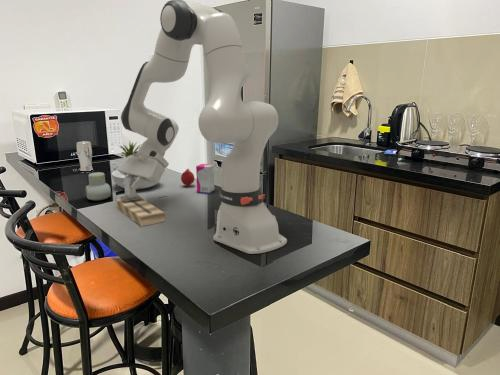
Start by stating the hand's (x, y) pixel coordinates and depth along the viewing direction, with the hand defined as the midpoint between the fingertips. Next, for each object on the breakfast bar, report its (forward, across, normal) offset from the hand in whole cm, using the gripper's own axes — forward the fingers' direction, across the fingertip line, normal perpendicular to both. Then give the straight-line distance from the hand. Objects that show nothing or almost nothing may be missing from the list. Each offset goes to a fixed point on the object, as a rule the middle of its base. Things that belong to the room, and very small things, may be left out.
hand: (128, 187), depth 135 cm
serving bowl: (-8, -23, +20) cm, 32 cm away
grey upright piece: (+3, 0, +4) cm, 5 cm away
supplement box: (-18, +5, +29) cm, 35 cm away
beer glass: (-10, -69, +22) cm, 73 cm away
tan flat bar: (+7, +8, +5) cm, 11 cm away
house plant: (-18, -47, +30) cm, 59 cm away
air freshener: (+6, -20, +6) cm, 22 cm away
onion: (-19, -7, +30) cm, 36 cm away
